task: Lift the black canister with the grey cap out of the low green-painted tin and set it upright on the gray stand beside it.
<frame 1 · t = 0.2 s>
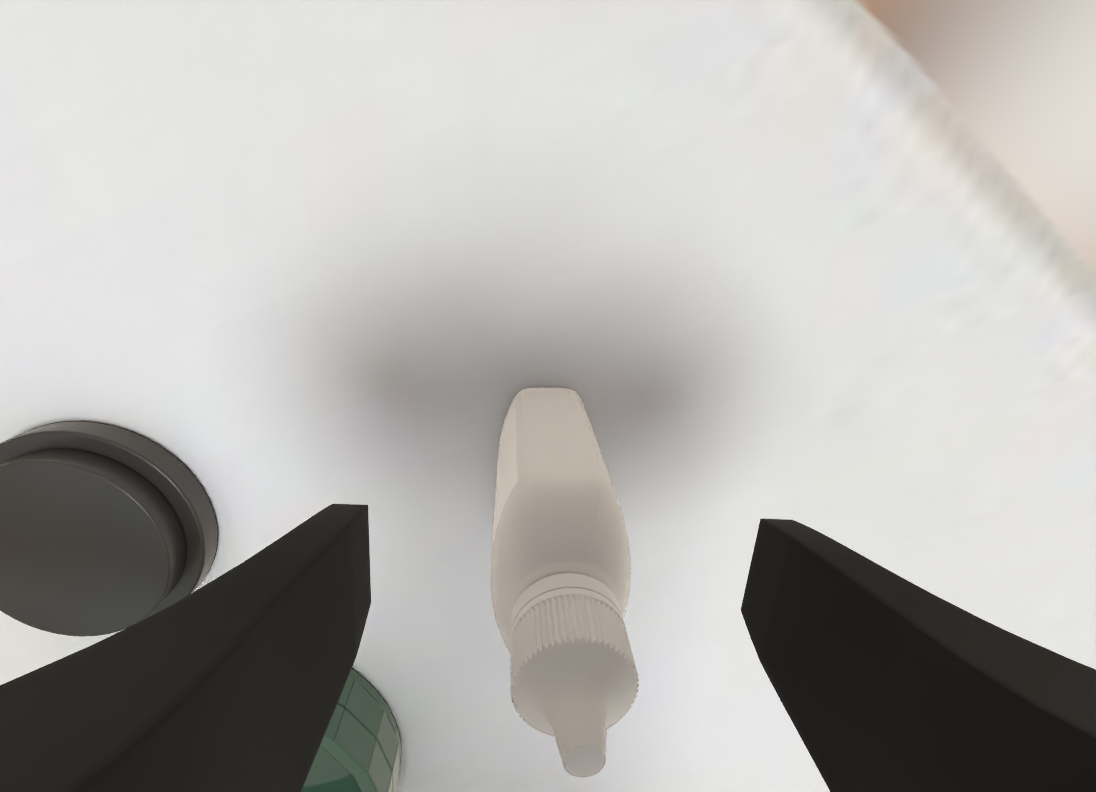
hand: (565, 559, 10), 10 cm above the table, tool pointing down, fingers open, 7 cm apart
eye dropper bottle: (544, 453, 20), on the table
tin: (259, 748, 24), on the table
gray stand: (104, 522, 20), on the table
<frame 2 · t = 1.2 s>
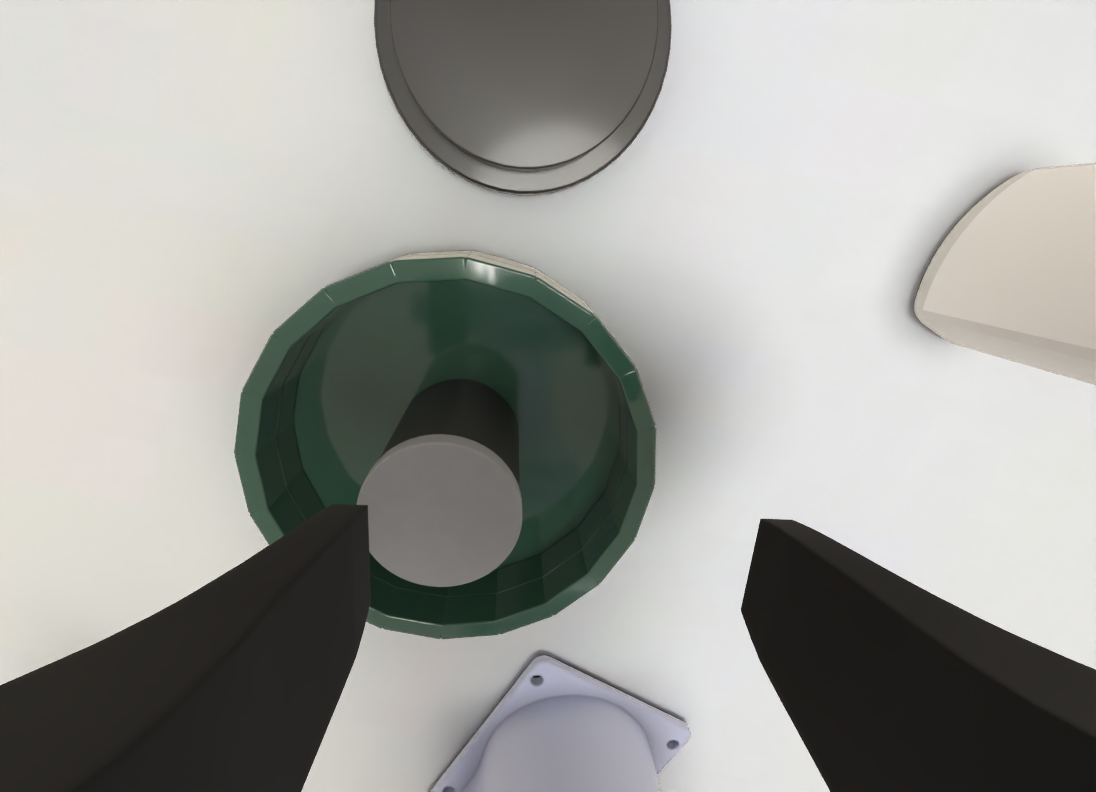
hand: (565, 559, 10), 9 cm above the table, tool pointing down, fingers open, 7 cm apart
eye dropper bottle: (977, 258, 19), on the table
tin: (461, 430, 19), on the table
gray stand: (524, 46, 16), on the table
black canister: (460, 434, 19), resting on tin
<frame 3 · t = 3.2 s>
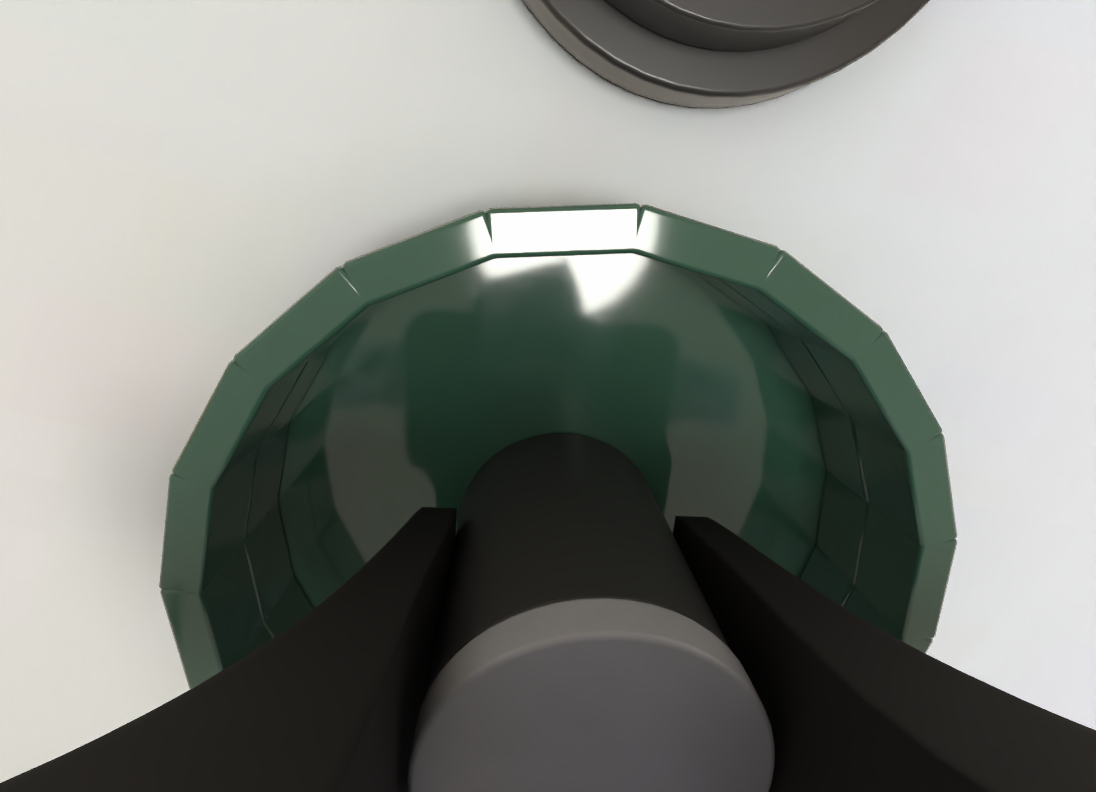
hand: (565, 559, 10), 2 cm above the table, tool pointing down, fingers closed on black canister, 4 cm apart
tin: (557, 512, 12), on the table
black canister: (557, 522, 11), resting on tin, touching gripper
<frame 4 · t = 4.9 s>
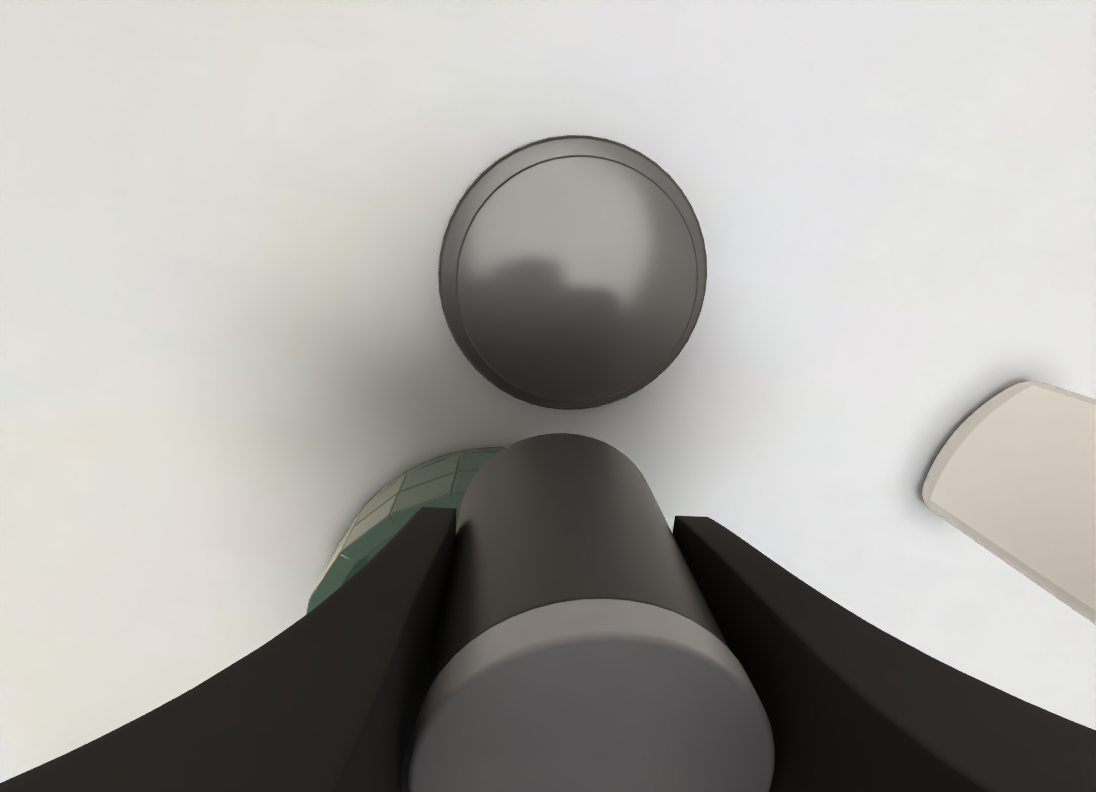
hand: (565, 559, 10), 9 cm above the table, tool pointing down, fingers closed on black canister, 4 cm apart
eye dropper bottle: (980, 448, 20), on the table
tin: (500, 596, 21), on the table
gray stand: (571, 279, 17), on the table
black canister: (557, 522, 11), point 7 cm above the table, touching gripper
when the fingers open (3 cm above the table, at t = 7.0 s): black canister stays where it is, resting on gray stand.
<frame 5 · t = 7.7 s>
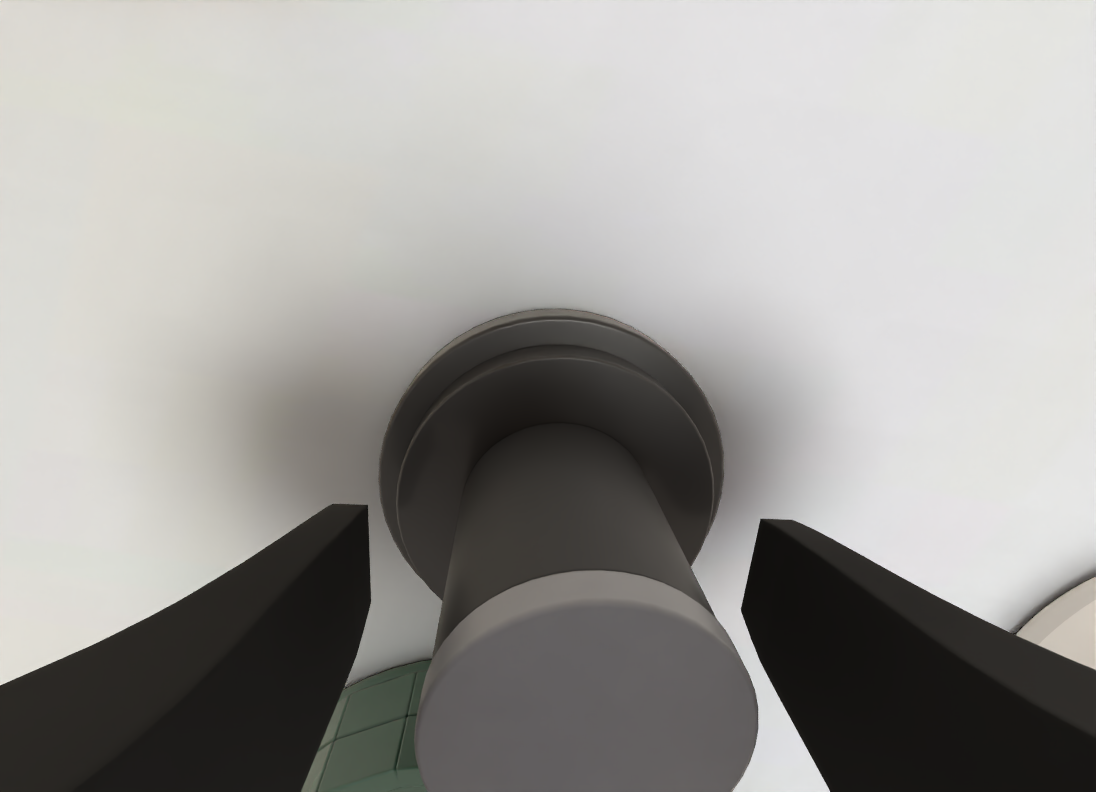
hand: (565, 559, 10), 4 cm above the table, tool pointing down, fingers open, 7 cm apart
eye dropper bottle: (1052, 640, 17), on the table
gray stand: (551, 469, 14), on the table
black canister: (556, 509, 12), point 2 cm above the table, touching gray stand
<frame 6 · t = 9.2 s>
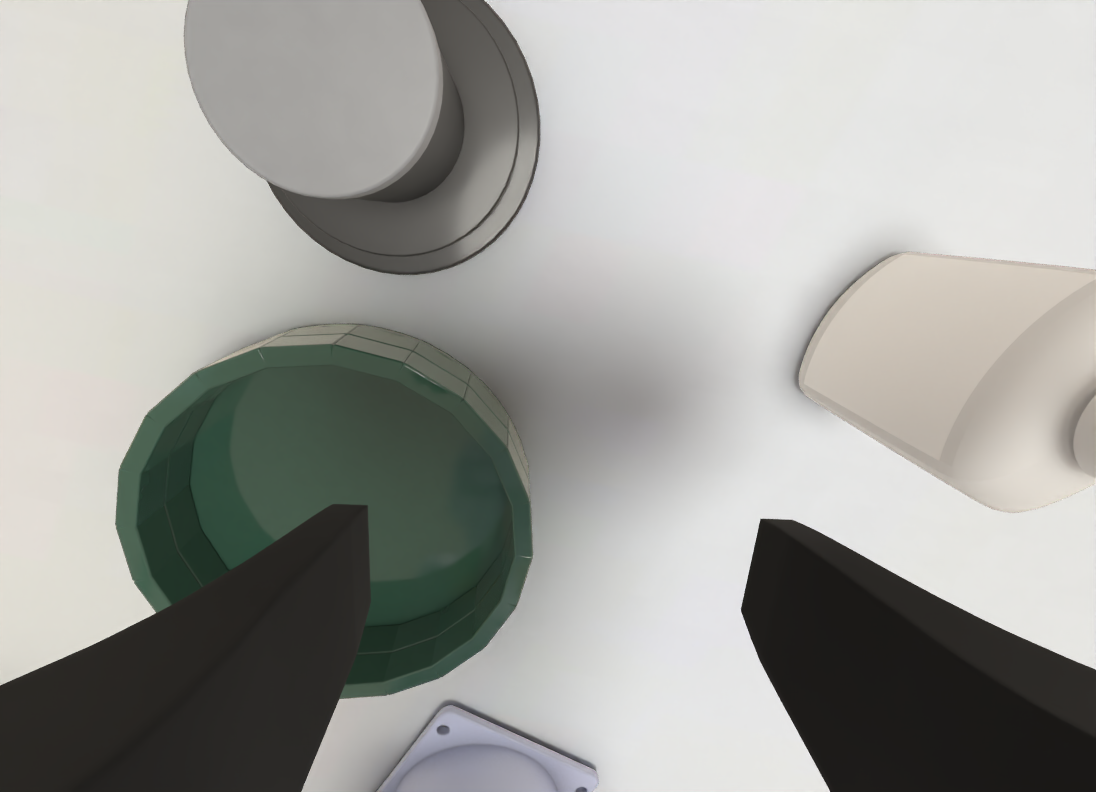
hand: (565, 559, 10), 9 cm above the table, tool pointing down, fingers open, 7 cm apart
eye dropper bottle: (860, 332, 19), on the table
tin: (359, 492, 20), on the table
gray stand: (403, 133, 16), on the table
black canister: (387, 121, 14), point 2 cm above the table, touching gray stand
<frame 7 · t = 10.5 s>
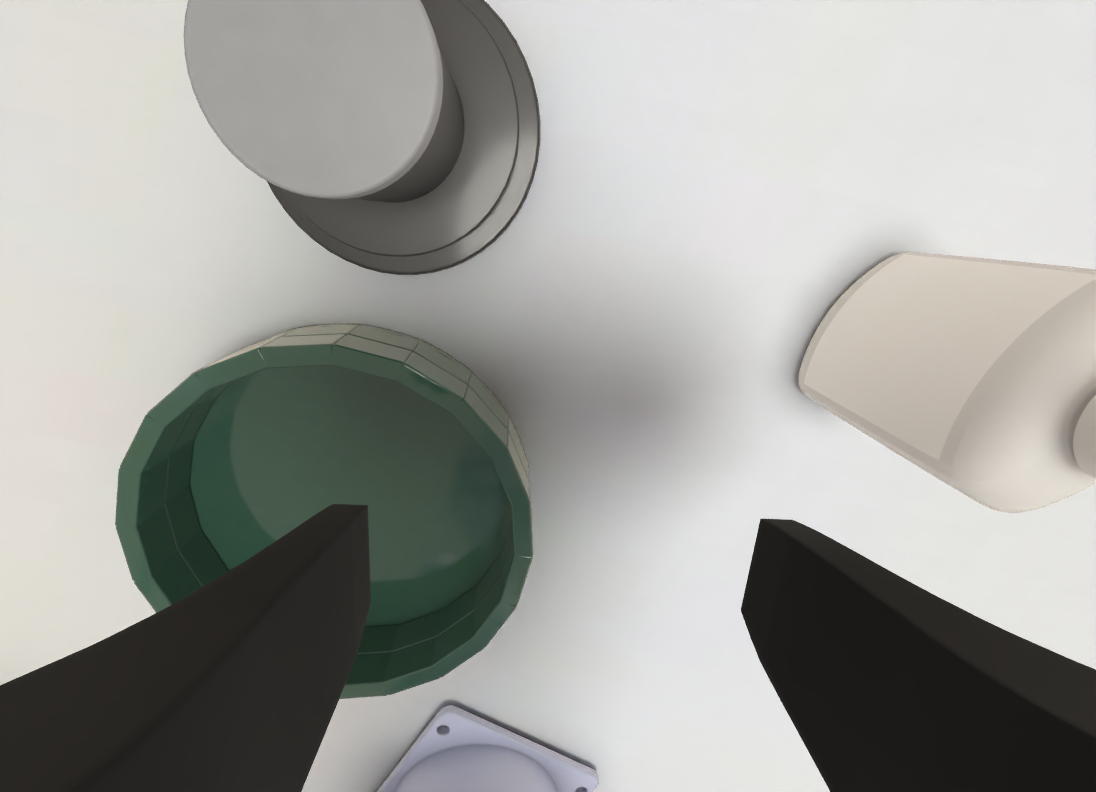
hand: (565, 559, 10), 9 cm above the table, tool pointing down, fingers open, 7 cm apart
eye dropper bottle: (860, 332, 19), on the table
tin: (359, 492, 20), on the table
gray stand: (403, 133, 16), on the table
black canister: (387, 121, 14), point 2 cm above the table, touching gray stand
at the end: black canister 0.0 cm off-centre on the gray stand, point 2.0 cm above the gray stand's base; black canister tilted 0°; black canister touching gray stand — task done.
